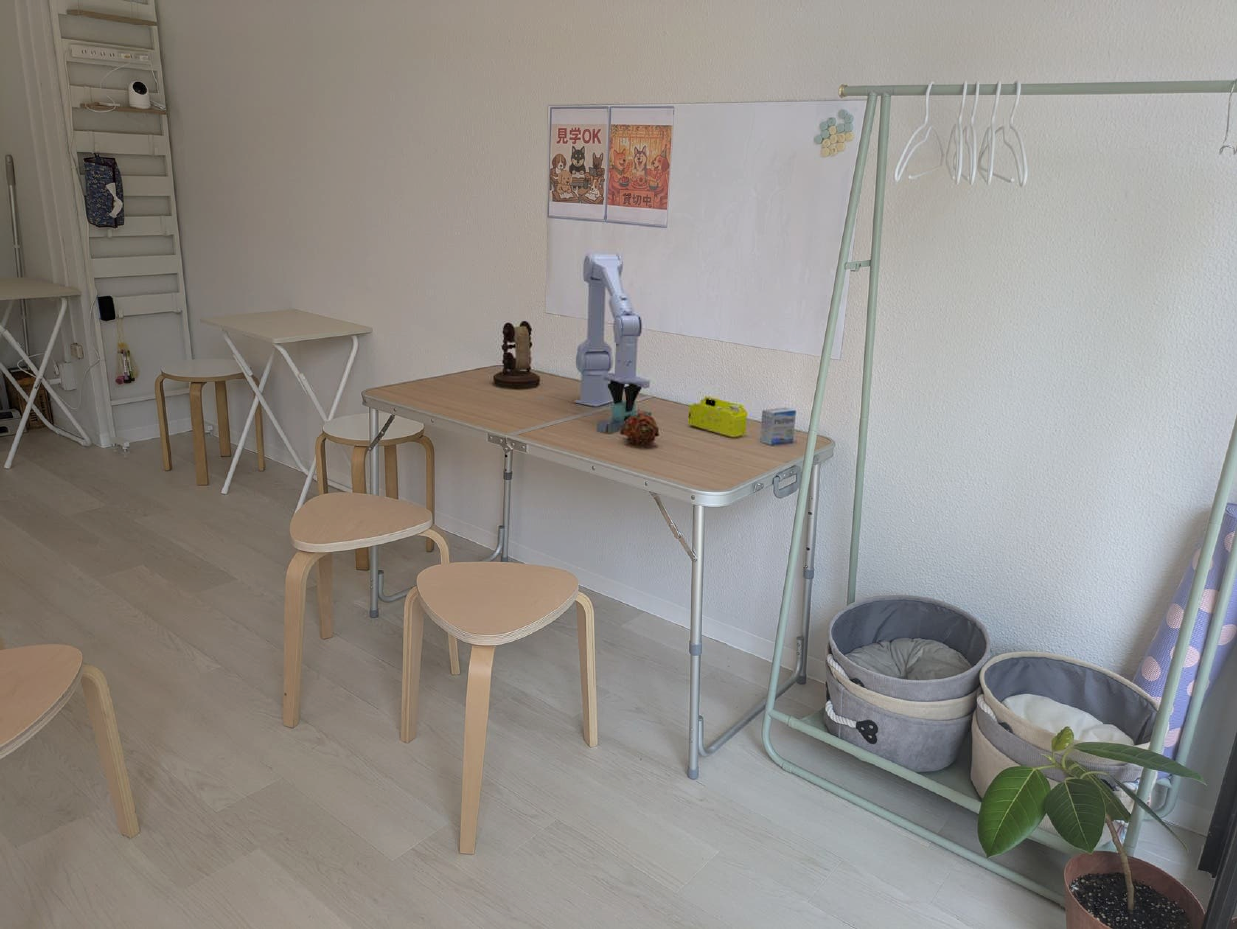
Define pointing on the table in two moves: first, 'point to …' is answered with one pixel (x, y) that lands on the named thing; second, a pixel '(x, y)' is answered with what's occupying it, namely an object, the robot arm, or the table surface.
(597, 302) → the robot arm
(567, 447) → the table surface
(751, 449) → the table surface
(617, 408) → the clip
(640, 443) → the brown scaly rounded piece
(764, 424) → the medicine box
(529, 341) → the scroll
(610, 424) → the rail
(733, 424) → the yellow toy chassis
